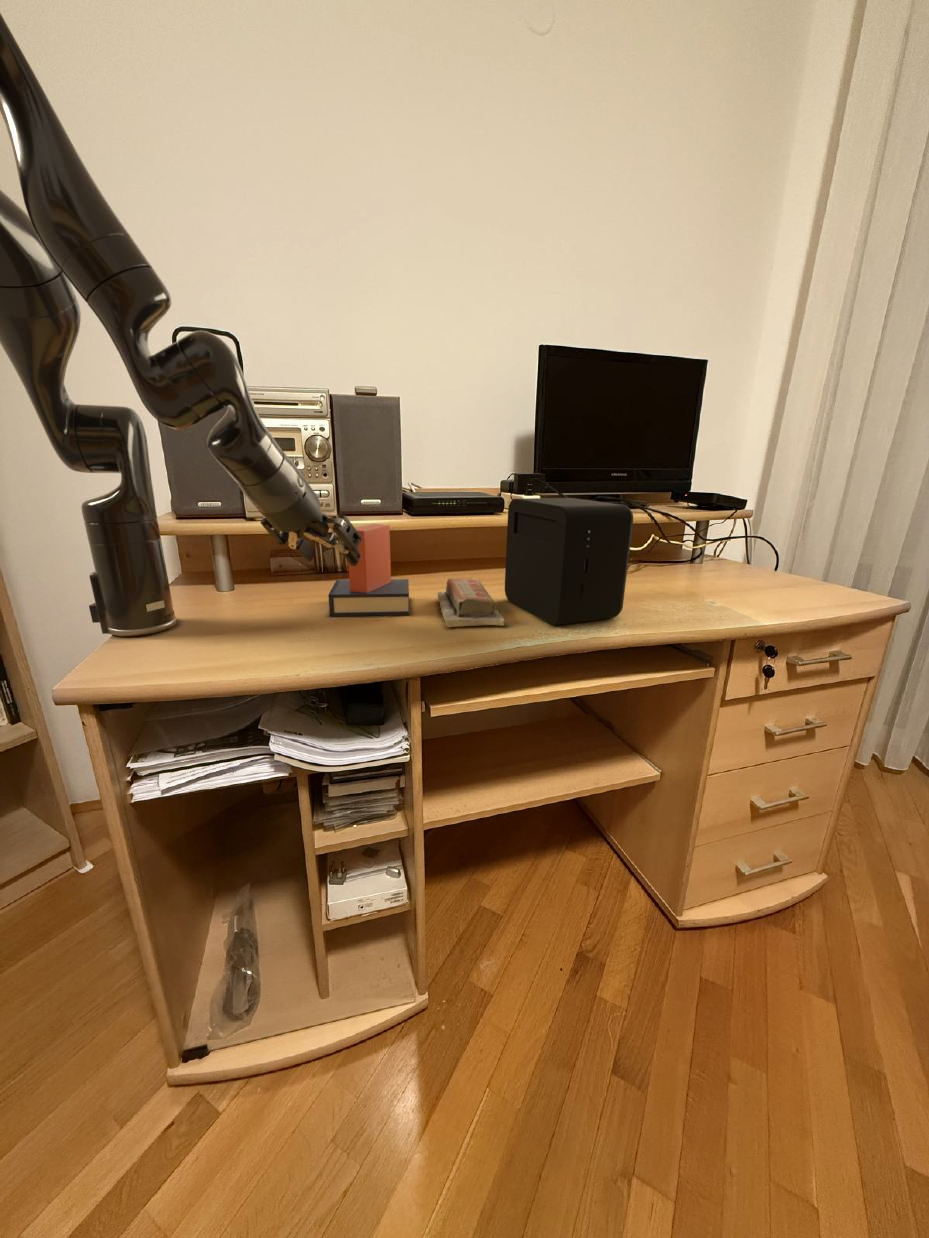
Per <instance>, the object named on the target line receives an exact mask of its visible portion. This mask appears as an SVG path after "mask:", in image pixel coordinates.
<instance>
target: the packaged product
mask: <svg viewBox="0 0 929 1238" xmlns="http://www.w3.org/2000/svg"><path fill="white" fill-rule="evenodd" d="M436 593H437V594H436V595H437V599H438V602H439V607H440V613H441V615H442V618H443V620H444V621H445V624H446V627H447V628H456V627H457V628H458V627H472V626H473V627H475V626H476V627H477V626H500V627H501V626H503V627H504V625H505V619H504V618H503V615H502V614H501V613H500V612H499V610H498V608H497V604H496V603H495V601H494V600H493V598H492V597H491V595H490V594H489V593H488V591H487V590H486V588H485V587H484V585H483V584H482V583H481V581H480V580H479V579H477V578H474V577H451V578H447V581H446V586H445V591H444V592H443V591H438V592H436Z"/></svg>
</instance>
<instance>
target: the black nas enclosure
mask: <svg viewBox="0 0 929 1238" xmlns="http://www.w3.org/2000/svg"><path fill="white" fill-rule="evenodd" d="M633 527H634V513H633V511H632V510H631V508H630V507H628V506H627V505H625V504H619V503H613V502H606V501H605V502H604V501H597V500H591V499H590V500H589V499H582V498H574V497H540V498H539V497H535V498H513V499H511V500H510V503H509V505H508V508H507V527H506V549H505V569H504V571H505V573H504V594H505V597H506V599H507V600H508V602H510V603H512V604H513V605H515V606H516V607H518V608H521V609H523V610H524V611H526V612H528V613H530V614H531V615H533V616H535V617H536V618H538V619H540V620H542V621H543V622H545V623H547V624H549V625H550V626H558V625H559V626H561V625H567V624H575V623H584V622H590V621H600V620H607V619H614V618H616V617H618V616H619V615H620V614H621V612H622V611H623V608H624V599H625V593H626V584H627V575H628V570H629V569H628V568H629V560H630V552H631V544H632V536H633Z"/></svg>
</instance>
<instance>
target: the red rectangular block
mask: <svg viewBox="0 0 929 1238" xmlns="http://www.w3.org/2000/svg"><path fill="white" fill-rule="evenodd" d="M355 529H356V530H357V531H358V533H359V534H360V535H361V537H362V540H361V542H360V544H359V546H358V549H357V550H358V551H359V552H360V554H361V557H360V560H359V562H358V563H357V566H351V565H350V563H349V562H348V561H347V562H348V563H347V565H348V580H349V582H350V591H351V592H360V593H369V592H371V591H373V590H375V589H377V588H380V587H382V586H384V585H386V584H389V583H391V579H392V567H391V566H392V565H391V535H390V532H391V531H390V530H391V529H390V524H381V523H379V524H378V523H371V524H368V525H367V524H365V525H362V526H357V527H355ZM352 538H353V537H352Z"/></svg>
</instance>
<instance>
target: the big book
mask: <svg viewBox="0 0 929 1238" xmlns="http://www.w3.org/2000/svg"><path fill="white" fill-rule="evenodd" d="M409 583H410V582H409V579H408V578H401V579H400V578H397V579H395V578H394V579H392V578H391V583H389V584H386V585H384V586H382V587H380V588H377V589H375V590H373V591H371V592H369V593H360V592H351V591H350V582H349V579H336V580H335V582H334V584H333V585H332V587H331V589H330V591H329V592H328V595H327V596H328V608H329V609H328V610H329V617H363V616H364V617H367V616H368V617H371V616H373V617H375V616H379V617H380V616H410V587H409Z"/></svg>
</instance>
